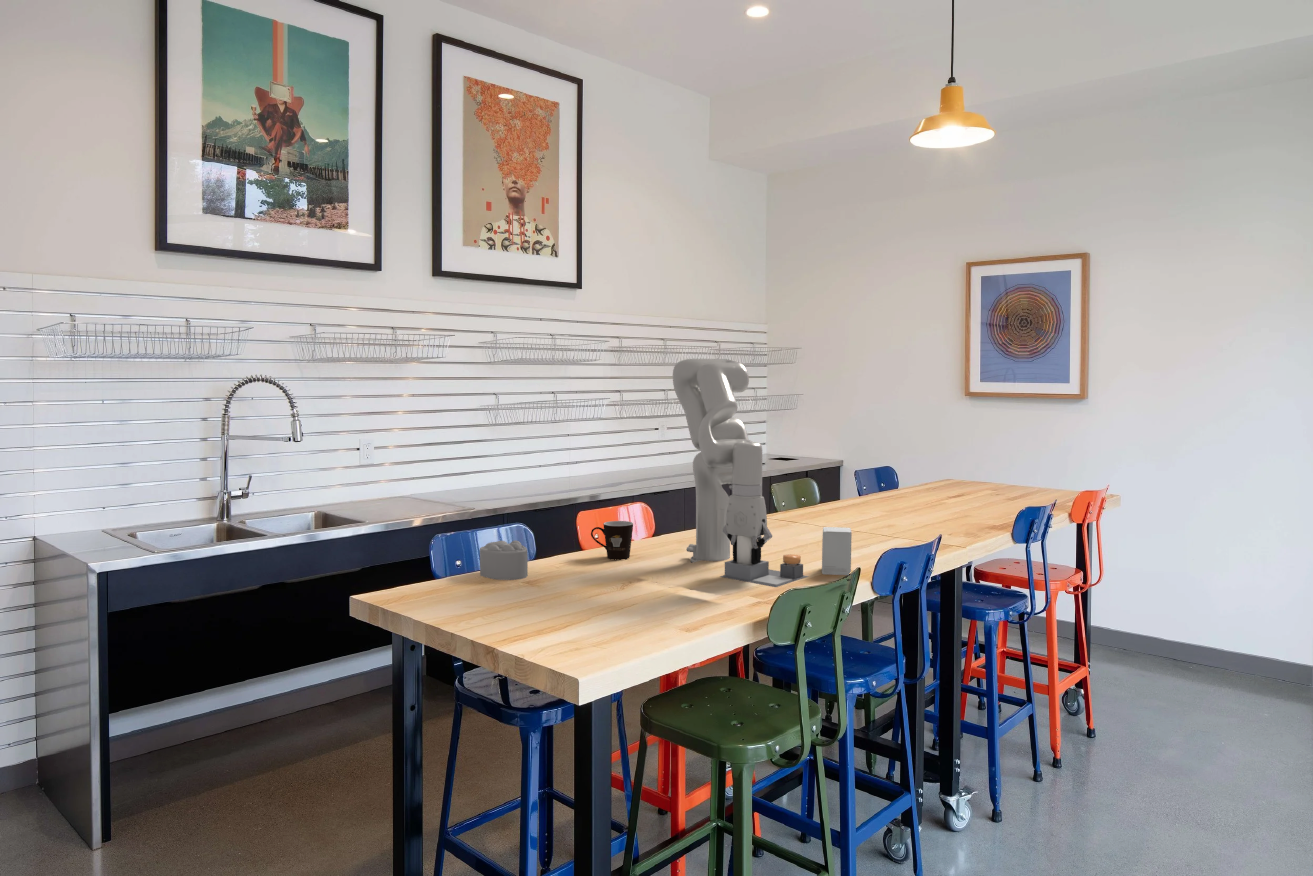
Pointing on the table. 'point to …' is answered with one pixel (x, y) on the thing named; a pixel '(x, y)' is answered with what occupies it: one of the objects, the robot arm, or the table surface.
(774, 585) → the grey compartment tray
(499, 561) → the lumpy-topped squat cylinder
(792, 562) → the glossy orange sphere
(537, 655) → the table surface
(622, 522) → the coffee mug
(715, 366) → the robot arm
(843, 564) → the supplement box
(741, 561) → the cylinder
